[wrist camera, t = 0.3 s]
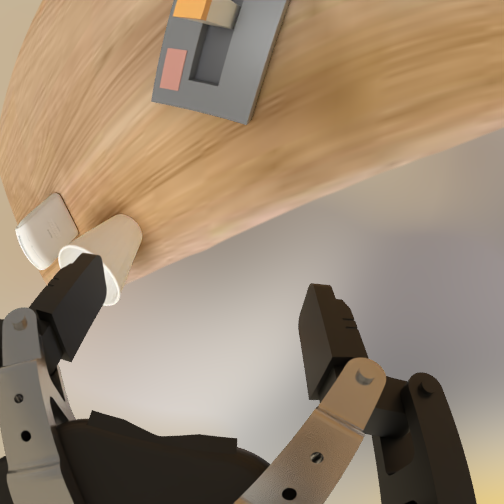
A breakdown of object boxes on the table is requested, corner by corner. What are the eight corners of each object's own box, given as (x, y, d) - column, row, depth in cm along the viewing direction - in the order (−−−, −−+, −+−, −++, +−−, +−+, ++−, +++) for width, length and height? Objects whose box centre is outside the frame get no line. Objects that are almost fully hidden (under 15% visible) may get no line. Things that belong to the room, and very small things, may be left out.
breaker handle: (219, 3, 23) (181, -15, 15) (240, 6, 23) (210, -13, 15) (212, 25, 24) (172, 16, 17) (233, 29, 24) (200, 19, 17)
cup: (99, 242, 51) (63, 286, 41) (99, 191, 43) (53, 233, 33) (151, 266, 51) (120, 316, 42) (159, 215, 44) (119, 266, 34)
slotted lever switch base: (208, -65, 17) (199, -73, 14) (309, -51, 17) (308, -61, 15) (162, 97, 32) (150, 101, 30) (251, 119, 32) (246, 125, 30)
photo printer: (82, 235, 50) (45, 275, 41) (70, 236, 52) (34, 275, 42) (60, 190, 44) (16, 227, 35) (48, 194, 46) (7, 229, 36)
